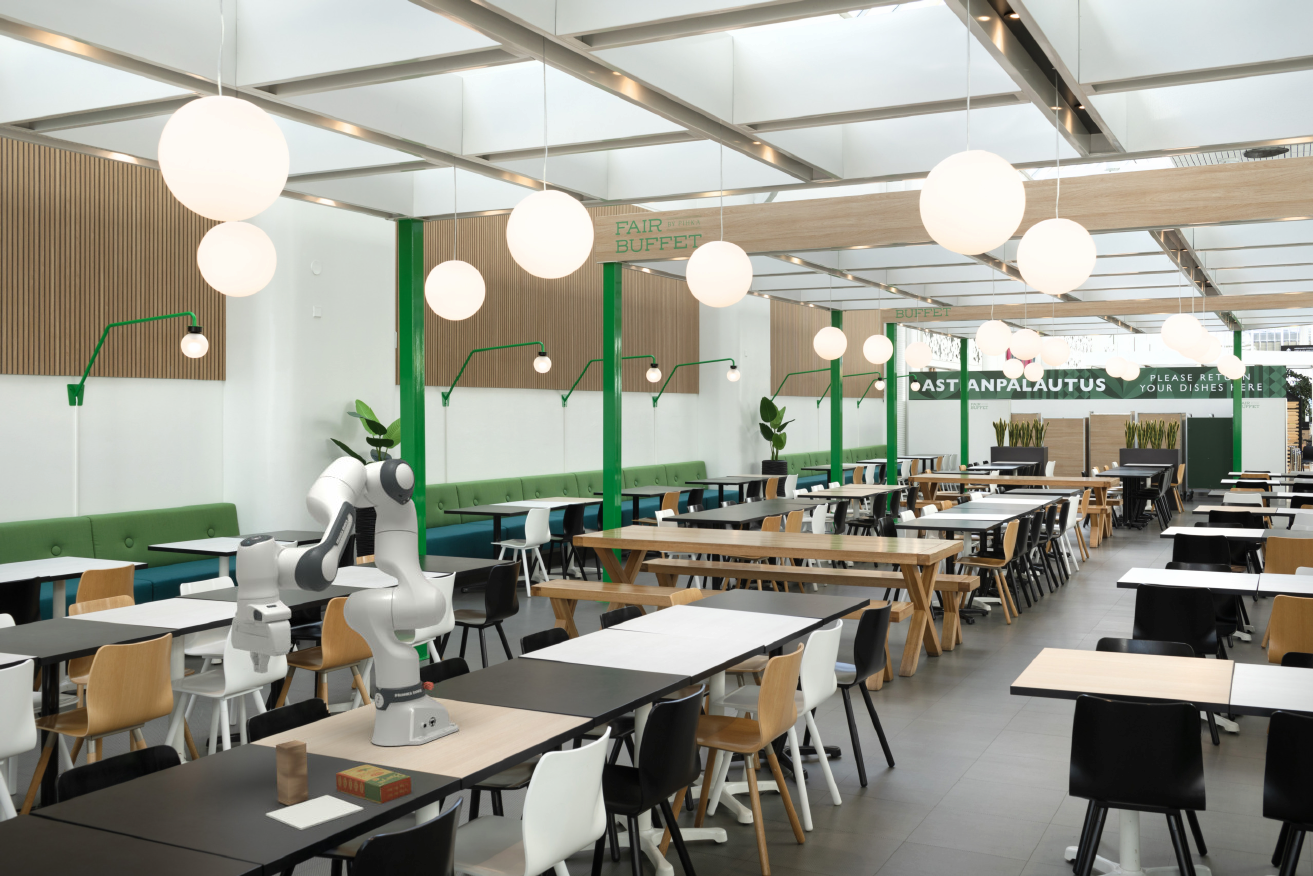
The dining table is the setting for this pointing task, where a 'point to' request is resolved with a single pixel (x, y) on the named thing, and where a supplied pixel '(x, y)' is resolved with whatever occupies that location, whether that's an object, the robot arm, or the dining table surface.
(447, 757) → the dining table surface
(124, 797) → the dining table surface
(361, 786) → the carton
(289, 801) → the block
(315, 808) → the mat
